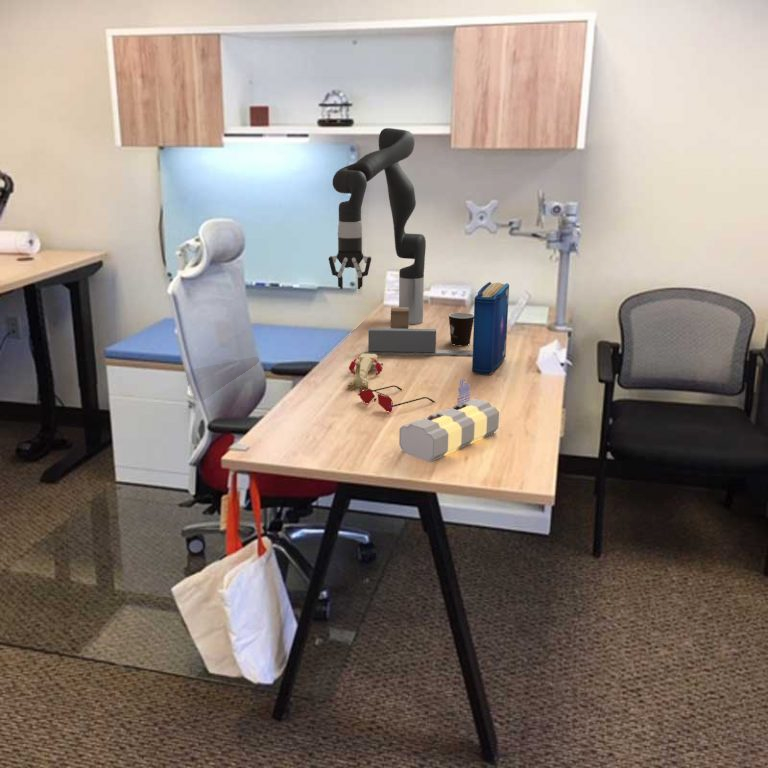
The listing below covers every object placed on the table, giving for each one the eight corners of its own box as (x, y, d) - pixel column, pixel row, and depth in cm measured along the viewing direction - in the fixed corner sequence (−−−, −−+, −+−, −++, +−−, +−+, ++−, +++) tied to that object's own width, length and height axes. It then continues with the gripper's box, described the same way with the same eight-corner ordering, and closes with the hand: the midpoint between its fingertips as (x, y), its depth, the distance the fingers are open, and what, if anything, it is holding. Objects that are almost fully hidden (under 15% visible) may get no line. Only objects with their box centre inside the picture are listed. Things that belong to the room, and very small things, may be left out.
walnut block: (390, 340, 285) (391, 307, 282) (408, 341, 285) (408, 307, 281) (390, 345, 279) (390, 311, 275) (408, 345, 279) (408, 311, 275)
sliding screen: (368, 348, 271) (368, 328, 269) (435, 349, 271) (435, 329, 269) (368, 351, 268) (368, 330, 266) (435, 352, 268) (436, 331, 266)
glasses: (356, 403, 223) (356, 385, 222) (402, 391, 233) (402, 374, 232) (390, 416, 213) (390, 398, 212) (436, 403, 223) (436, 386, 222)
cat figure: (374, 395, 233) (386, 364, 255) (374, 367, 229) (386, 337, 252) (340, 394, 234) (354, 362, 257) (339, 365, 230) (354, 336, 253)
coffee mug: (473, 347, 278) (475, 318, 275) (448, 346, 278) (449, 318, 275) (471, 338, 289) (472, 310, 286) (446, 338, 289) (447, 310, 286)
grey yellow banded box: (464, 424, 208) (466, 375, 204) (498, 435, 201) (500, 384, 197) (399, 452, 190) (400, 398, 186) (433, 464, 183) (435, 409, 179)
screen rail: (365, 351, 272) (365, 348, 272) (486, 352, 271) (486, 350, 271) (365, 354, 268) (365, 352, 268) (487, 356, 267) (487, 353, 267)
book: (492, 377, 245) (496, 295, 237) (469, 375, 247) (472, 293, 240) (505, 358, 265) (510, 282, 257) (484, 356, 267) (487, 280, 259)
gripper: (373, 234, 262) (372, 286, 267) (328, 233, 262) (329, 286, 268) (372, 237, 255) (372, 291, 260) (326, 236, 255) (326, 290, 260)
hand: (350, 288), depth 264 cm, fingers open, 5 cm apart
